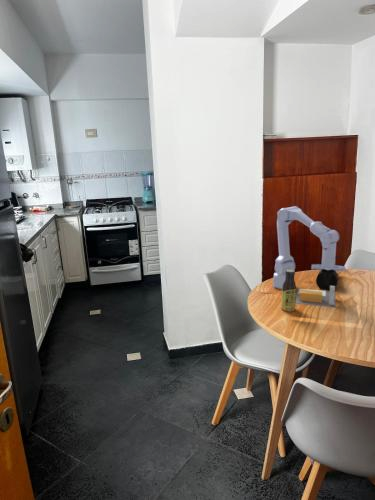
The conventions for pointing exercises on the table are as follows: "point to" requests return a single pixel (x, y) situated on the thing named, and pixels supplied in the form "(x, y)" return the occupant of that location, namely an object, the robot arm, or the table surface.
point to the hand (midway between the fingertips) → (327, 284)
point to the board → (324, 302)
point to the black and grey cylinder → (321, 281)
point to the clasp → (331, 295)
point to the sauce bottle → (289, 292)
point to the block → (311, 296)
